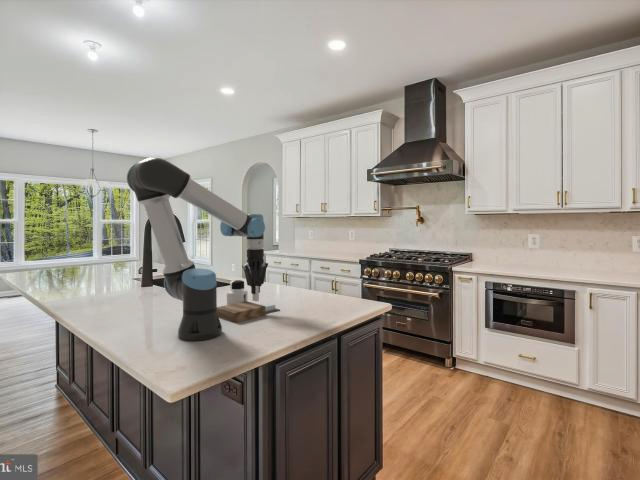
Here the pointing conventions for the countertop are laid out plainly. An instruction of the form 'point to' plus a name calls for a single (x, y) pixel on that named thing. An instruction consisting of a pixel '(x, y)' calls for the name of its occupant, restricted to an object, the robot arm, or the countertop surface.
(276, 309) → the mat
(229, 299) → the container
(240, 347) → the countertop surface
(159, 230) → the robot arm
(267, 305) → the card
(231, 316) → the brown wooden flat block
